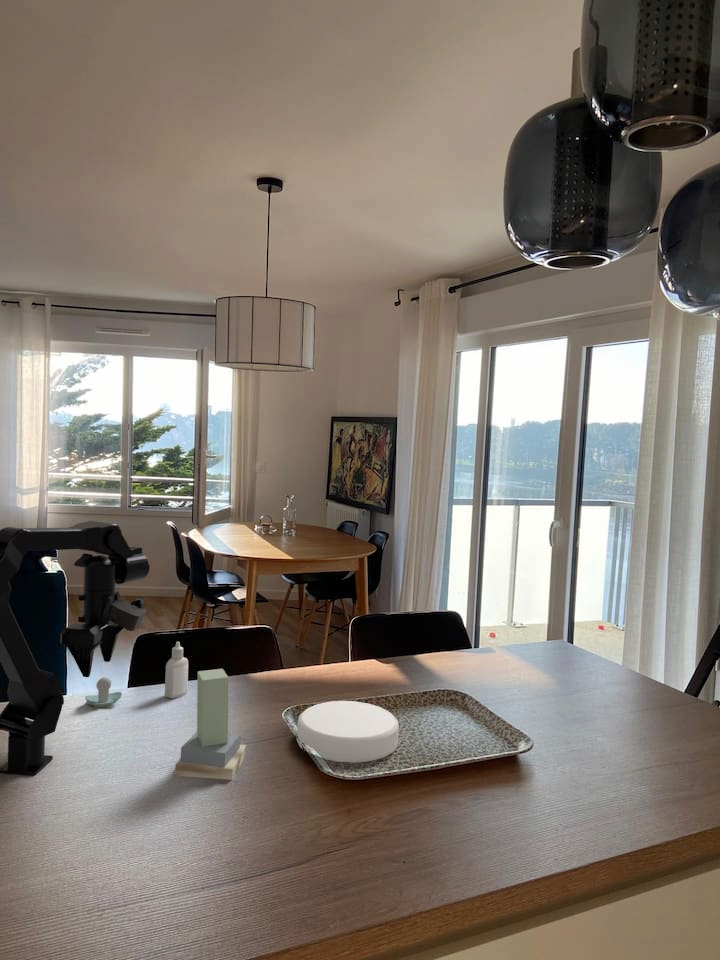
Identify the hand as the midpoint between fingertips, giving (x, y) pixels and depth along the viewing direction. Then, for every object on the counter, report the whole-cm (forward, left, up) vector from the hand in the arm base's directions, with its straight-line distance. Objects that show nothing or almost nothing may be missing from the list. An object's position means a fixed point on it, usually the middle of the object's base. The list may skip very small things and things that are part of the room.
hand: (97, 669), depth 137 cm
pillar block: (-8, -25, -8) cm, 27 cm away
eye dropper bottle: (+24, -8, -13) cm, 29 cm away
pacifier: (+16, +6, -13) cm, 22 cm away
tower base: (-8, -25, -14) cm, 30 cm away
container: (+7, -48, -14) cm, 50 cm away
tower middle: (-8, -25, -11) cm, 28 cm away
